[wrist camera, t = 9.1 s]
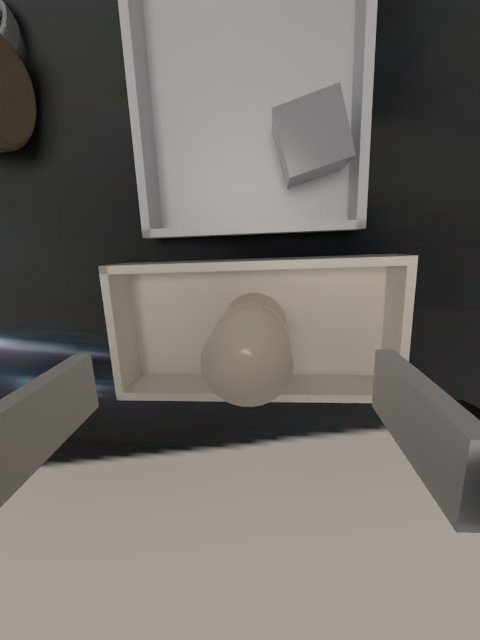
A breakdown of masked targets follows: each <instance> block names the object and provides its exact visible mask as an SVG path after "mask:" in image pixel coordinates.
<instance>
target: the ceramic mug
mask: <svg viewBox="0 0 480 640" xmlns="http://www.w3.org/2000/svg"><path fill="white" fill-rule="evenodd" d="M0 18H2V23H1V26H0V152H11V151H15V150H18V149H20V148H21V147H23V146H24V145H25V144H26V143H27V142H28V140H29V139H30V137H31V136H32V133H33V131H34V128H35V122H36V114H37V110H36V99H35V93H34V89H33V85H32V82H31V79H30V76H29V74H28V72H27V69H26V67H25V65H24V64H23V62H22V60H21V59H20V57H19V55H18V54H17V51H18V48H19V46H20V29H19V26H18V24H17V21H16V19H15V18H14V16H13V14H12V13H11V11H10V10H9V8H8V7H7V5H6V4H5V2H4V1H3V0H0Z"/></svg>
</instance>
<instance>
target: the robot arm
mask: <svg viewBox="0 0 480 640" xmlns="http://www.w3.org/2000/svg"><path fill="white" fill-rule="evenodd" d="M98 407H99V404H98V397H97V391H96V385H95V379H94V372H93V366H92V360H91V354H74V355H72V356H71V357H69V358H68V359H66V360H64V361H63V362H61V363H59V364H58V365H56V366H54V367H53V368H51V369H49V370H48V371H46V372H45V373H43V374H41V375H40V376H38V377H36V378H35V379H33V380H31V381H30V382H28V383H26V384H25V385H23V386H22V387H20V388H18V389H17V390H15V391H13V392H12V393H10V394H8V395H7V396H5V397H4V398H2V399H0V507H1V506H2V505H3V504H4V503H5V502H6V501H7V500H8V499H9V498H10V497H11V496H12V495H13V494H14V493H15V492H16V491H17V490H18V489H19V488H20V487H21V486H22V485H23V484H24V482H26V480H27V479H28V478H29V477H30V476H31V475H32V474H33V473H34V472H35V471H36V470H37V469H38V468H39V467H40V466H41V465H42V464H43V463H44V462H45V461H46V460H47V459H48V458H49V457H50V456H51V455H52V454H53V453H54V452H55V451H56V450H57V449H58V448H59V447H60V446H61V445H62V444H63V443H64V442H65V441H66V440H67V439H68V438H69V437H70V436H71V435H72V434H73V432H74V431H75V430H76V429H77V428H78V427H79V426H80V425H81V424H82V423H83V422H84V421H85V420H86V419H87V418H88V417H89V416H90V415H91V414H92V413H93V412H94V411H95V410H96V409H97V408H98ZM372 407H373V408H374V410H375V411H376V413H377V414H378V416H379V417H380V419H381V420H382V422H383V423H384V425H385V426H386V428H387V429H388V431H389V432H390V434H391V435H392V437H393V438H394V440H395V441H396V443H397V444H398V446H399V447H400V449H401V450H402V452H403V453H404V454H405V456H406V458H407V459H408V461H409V462H410V464H411V465H412V467H413V468H414V469H415V471H416V473H417V474H418V476H419V477H420V478H421V480H422V482H423V483H424V484H425V486H426V488H427V489H428V490H429V492H430V493H431V495H432V497H433V498H434V499H435V501H436V502H437V504H438V505H439V507H440V508H441V510H442V511H443V513H444V514H445V516H446V517H447V519H448V520H449V522H450V523H451V525H452V526H453V528H454V529H455V531H456V532H468V533H469V532H470V533H480V409H479V408H478V407H476V406H473V405H471V404H469V403H467V402H465V401H463V400H454V399H453V398H452V397H451V396H450V395H448V394H447V393H446V392H445V391H443V390H442V389H441V388H440V387H439V386H437V385H436V384H435V383H434V382H433V381H431V380H430V379H429V378H428V377H426V376H425V375H424V374H423V373H422V372H420V371H419V370H418V369H417V368H416V367H414V366H413V365H412V364H411V363H409V362H408V361H407V360H406V359H405V358H403V357H402V356H401V355H400V354H399V353H397V352H396V351H395V350H394V349H383V350H376V352H375V367H374V382H373V397H372Z"/></svg>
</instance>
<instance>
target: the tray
mask: <svg viewBox="0 0 480 640" xmlns="http://www.w3.org/2000/svg"><path fill="white" fill-rule="evenodd" d="M377 1H378V0H118V6H119V16H120V25H121V35H122V45H123V54H124V64H125V74H126V83H127V93H128V102H129V112H130V122H131V131H132V141H133V151H134V160H135V170H136V179H137V189H138V199H139V208H140V218H141V228H142V237H143V238H154V239H161V238H185V237H209V236H234V235H258V234H282V233H307V232H331V231H355V230H361V229H366V216H367V197H368V177H369V158H370V138H371V119H372V99H373V80H374V60H375V40H376V21H377ZM338 82H340V84H341V88H342V93H343V98H344V102H345V107H346V112H347V116H348V121H349V126H350V130H351V135H352V140H353V144H354V149H355V154H356V155H355V156H354V157H353V159H352V160H351V161H350V162H349V163H348V164H347V165H346V166H345V167H344V168H343V169H342V170H340V171H337V172H334V173H331V174H328V175H325V176H322V177H319V178H317V179H314V180H311V181H308V182H305V183H302V184H299V185H296V186H293V187H290V188H286V184H285V180H284V177H283V173H282V169H281V165H280V161H279V157H278V154H277V150H276V146H275V142H274V138H273V134H272V108H273V107H276V106H278V105H281V104H283V103H286V102H289V101H291V100H294V99H296V98H299V97H302V96H304V95H307V94H310V93H312V92H315V91H317V90H320V89H323V88H325V87H328V86H331V85H333V84H336V83H338Z"/></svg>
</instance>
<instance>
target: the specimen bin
mask: <svg viewBox="0 0 480 640" xmlns="http://www.w3.org/2000/svg"><path fill="white" fill-rule="evenodd" d="M417 263H418V256H416V255H404V254H370V255H341V256H311V257H282V258H252V259H222V260H193V261H163V262H133V263H119V264H111V265H104V266H98V268H99V276H100V283H101V290H102V298H103V305H104V312H105V319H106V327H107V334H108V341H109V348H110V356H111V363H112V370H113V378H114V385H115V392H116V399H117V400H135V401H224V400H222V399H221V398H219V397H218V396H217V395H216V394H215V393H214V392H213V391H212V390H211V389H210V388H209V386H208V385H207V383H206V382H205V379H204V377H203V374H202V371H201V353H202V349H203V347H204V344H205V342H206V341H207V339H208V337H209V336H210V334H211V333H212V331H213V330H214V328H215V327H216V325H217V323H218V322H219V320H220V319H221V317H222V316H223V314H224V312H225V311H226V309H227V308H228V306H229V305H230V304H231V302H232V301H234V300H235V299H236V298H238V297H239V296H241V295H244V294H248V293H261V294H264V295H267V296H269V297H271V298H272V299H274V300H275V301H276V302H277V303H278V304H279V306H280V307H281V309H282V311H283V313H284V316H285V321H286V326H287V331H288V336H289V341H290V345H291V350H292V355H293V363H294V366H293V374H292V377H291V380H290V382H289V384H288V386H287V387H286V389H285V390H284V391H283V392H282V393H281V394H280V395H279V396H278V397H277V398H276V399H274V400H272V401H271V402H315V403H372V397H373V382H374V367H375V352H376V350H383V349H394V350H395V351H396V352H397V353H399V354H400V355H401V356H402V357H403V358H405V359H406V360H407V361H408V362H409V353H410V342H411V331H412V320H413V308H414V297H415V286H416V275H417ZM225 402H226V401H225Z"/></svg>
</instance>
